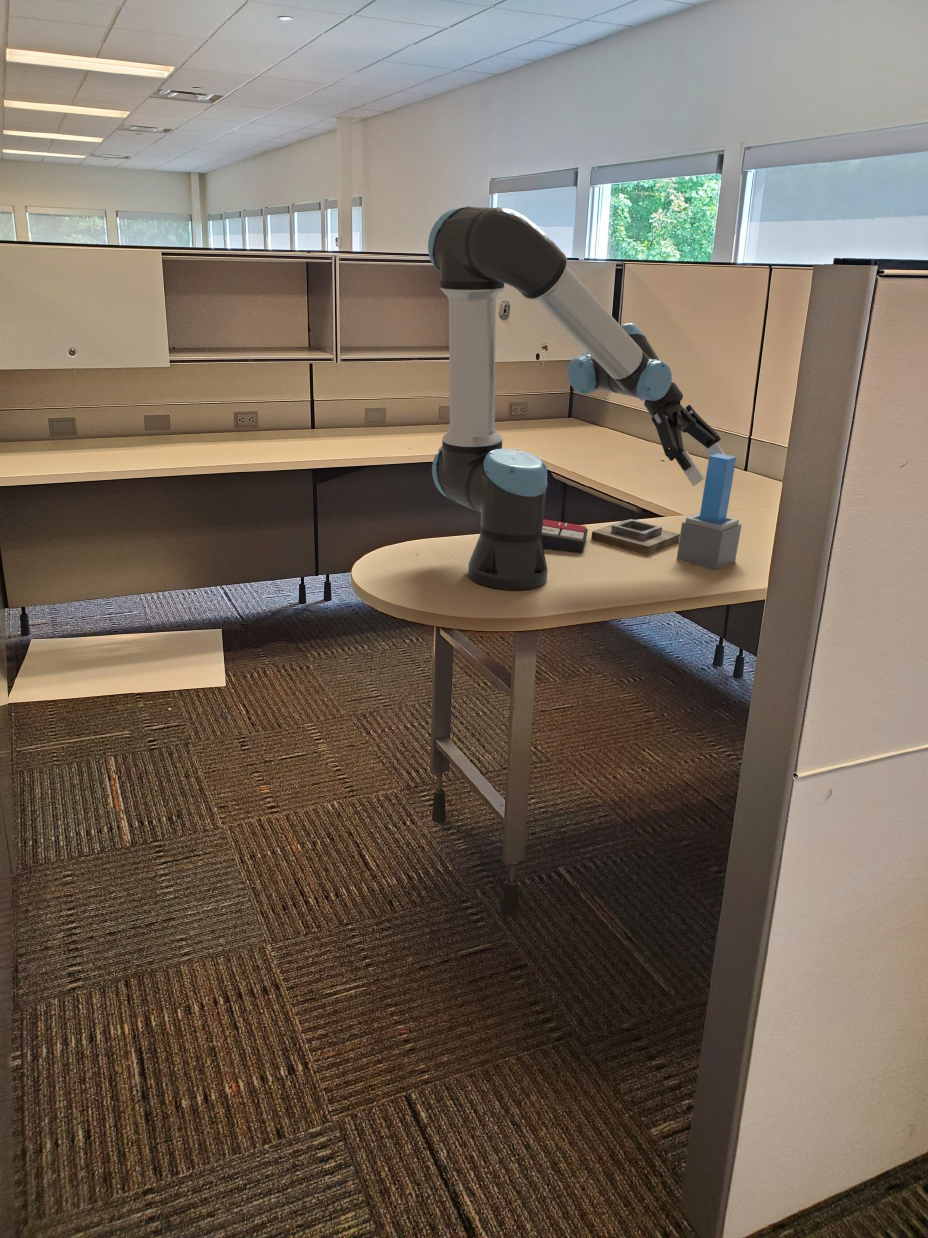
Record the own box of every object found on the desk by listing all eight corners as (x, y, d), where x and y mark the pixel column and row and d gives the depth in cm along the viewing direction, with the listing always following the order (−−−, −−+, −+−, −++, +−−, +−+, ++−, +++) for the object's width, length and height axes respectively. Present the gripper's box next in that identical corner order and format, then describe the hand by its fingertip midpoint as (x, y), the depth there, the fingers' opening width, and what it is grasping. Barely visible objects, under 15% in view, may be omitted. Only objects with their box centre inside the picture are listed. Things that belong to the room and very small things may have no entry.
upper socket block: (716, 570, 191) (723, 527, 187) (676, 559, 196) (682, 517, 193) (735, 561, 197) (742, 519, 194) (696, 550, 202) (702, 510, 199)
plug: (716, 527, 191) (727, 459, 186) (698, 523, 193) (709, 455, 188) (725, 523, 194) (736, 456, 189) (707, 519, 196) (718, 453, 191)
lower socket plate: (647, 555, 197) (649, 539, 196) (591, 540, 205) (592, 524, 204) (678, 542, 207) (681, 527, 206) (624, 528, 215) (626, 513, 214)
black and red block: (584, 538, 195) (513, 527, 197) (581, 558, 196) (511, 546, 198) (588, 524, 205) (521, 513, 207) (585, 543, 206) (518, 532, 208)
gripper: (641, 385, 182) (700, 475, 179) (699, 376, 200) (753, 458, 197) (614, 408, 187) (671, 497, 184) (673, 397, 205) (726, 477, 203)
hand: (714, 477), depth 191 cm, fingers open, 13 cm apart
